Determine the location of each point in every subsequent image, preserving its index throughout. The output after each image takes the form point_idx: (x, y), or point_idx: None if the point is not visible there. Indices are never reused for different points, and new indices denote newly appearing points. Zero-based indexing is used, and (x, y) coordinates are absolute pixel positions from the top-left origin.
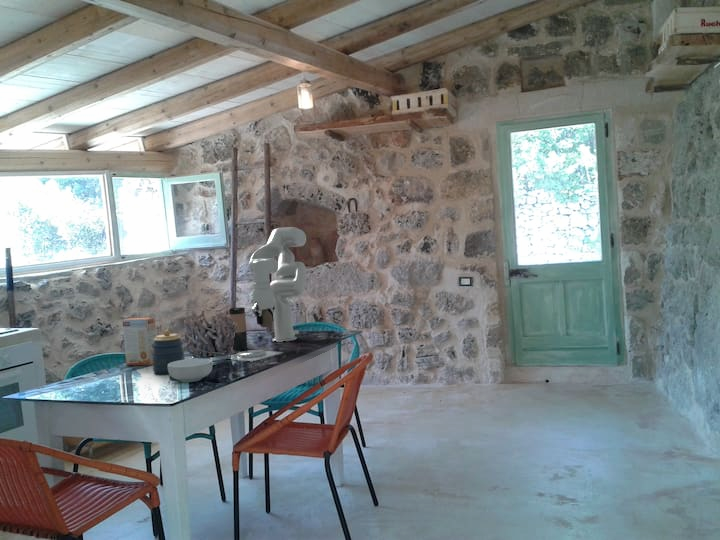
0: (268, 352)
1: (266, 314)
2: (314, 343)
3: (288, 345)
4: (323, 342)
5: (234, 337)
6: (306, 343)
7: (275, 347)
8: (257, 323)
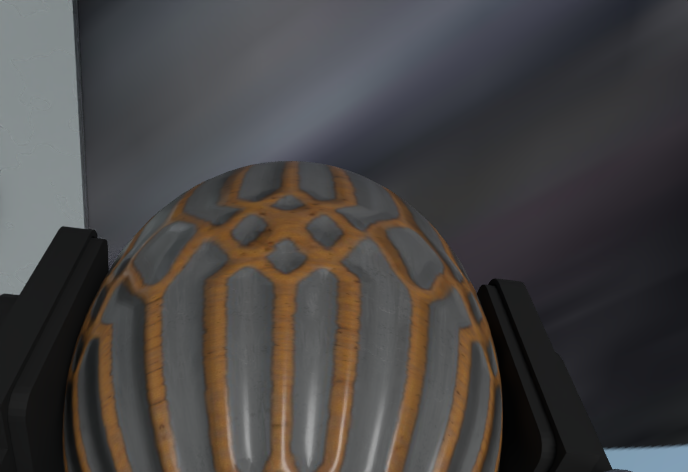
0: (18, 284)
1: None
2: (604, 379)
3: (525, 205)
4: (641, 417)
5: None
6: (620, 317)
7: (399, 125)
8: (57, 244)
